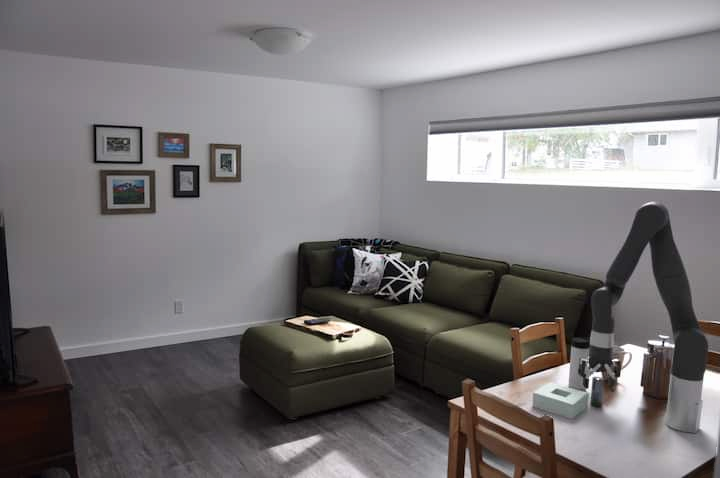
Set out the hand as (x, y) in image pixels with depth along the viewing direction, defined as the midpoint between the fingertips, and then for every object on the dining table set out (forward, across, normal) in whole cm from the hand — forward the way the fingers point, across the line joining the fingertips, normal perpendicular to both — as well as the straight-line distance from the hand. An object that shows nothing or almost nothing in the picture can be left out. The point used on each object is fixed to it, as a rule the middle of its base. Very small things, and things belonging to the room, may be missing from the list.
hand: (597, 387), depth 196 cm
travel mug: (+7, 0, -16) cm, 17 cm away
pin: (+7, 0, 0) cm, 7 cm away
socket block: (+7, +13, +1) cm, 15 cm away
